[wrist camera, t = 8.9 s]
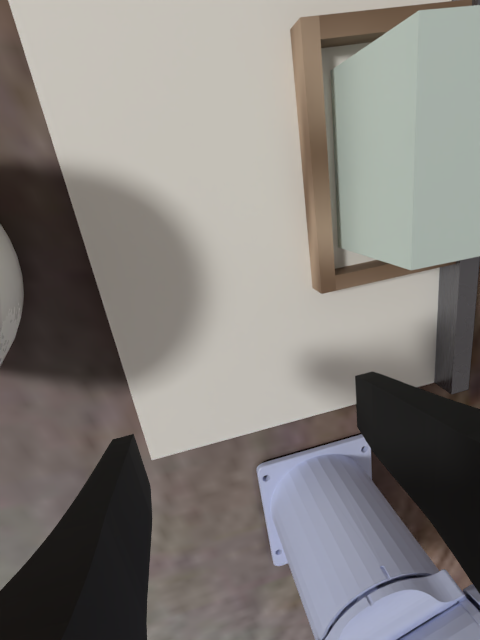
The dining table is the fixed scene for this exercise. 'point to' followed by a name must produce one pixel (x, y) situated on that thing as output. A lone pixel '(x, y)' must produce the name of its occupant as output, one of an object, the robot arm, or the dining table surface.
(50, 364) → the dining table surface
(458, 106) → the carton
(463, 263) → the white square tray
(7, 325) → the lidded jar
